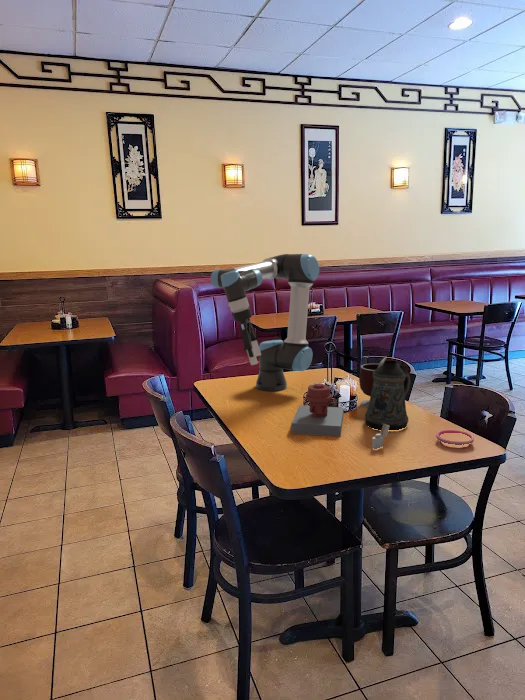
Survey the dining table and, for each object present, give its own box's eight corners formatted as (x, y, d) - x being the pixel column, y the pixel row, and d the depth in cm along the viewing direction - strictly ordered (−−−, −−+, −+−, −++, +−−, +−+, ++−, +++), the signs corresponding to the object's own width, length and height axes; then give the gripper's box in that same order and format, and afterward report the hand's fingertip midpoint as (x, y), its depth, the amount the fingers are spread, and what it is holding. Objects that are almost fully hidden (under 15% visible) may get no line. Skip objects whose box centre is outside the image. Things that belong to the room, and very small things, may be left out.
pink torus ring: (428, 440, 184) (428, 432, 183) (455, 435, 189) (455, 427, 188) (453, 453, 173) (454, 444, 172) (481, 447, 177) (482, 438, 177)
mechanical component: (305, 410, 204) (331, 411, 203) (305, 419, 195) (331, 419, 193) (306, 380, 202) (331, 381, 201) (305, 387, 192) (332, 388, 191)
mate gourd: (381, 412, 214) (383, 365, 210) (352, 405, 223) (353, 361, 219) (398, 403, 226) (400, 359, 222) (370, 397, 234) (371, 354, 230)
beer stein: (359, 428, 195) (361, 364, 190) (371, 413, 213) (373, 354, 208) (403, 435, 188) (407, 369, 183) (412, 419, 206) (416, 358, 201)
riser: (299, 414, 212) (299, 405, 211) (343, 417, 209) (343, 407, 208) (291, 433, 191) (291, 423, 190) (340, 436, 188) (340, 426, 187)
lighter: (375, 451, 174) (376, 428, 173) (371, 449, 176) (372, 427, 174) (388, 446, 179) (389, 424, 177) (385, 444, 180) (385, 422, 178)
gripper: (236, 307, 215) (251, 354, 220) (226, 318, 191) (243, 370, 196) (253, 302, 214) (267, 350, 219) (245, 312, 190) (262, 365, 194)
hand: (256, 360), depth 207 cm, fingers open, 13 cm apart
